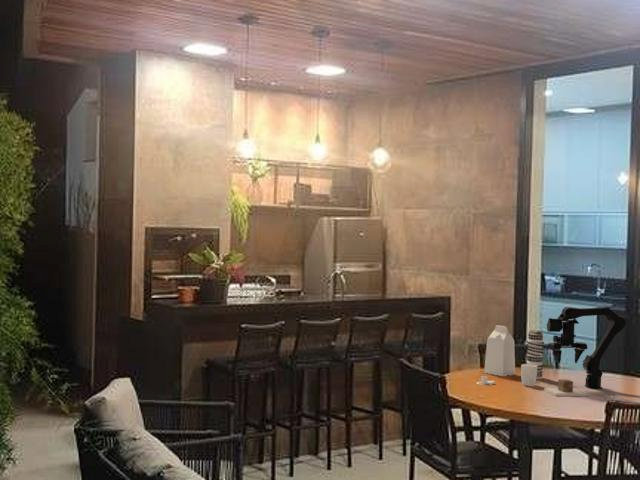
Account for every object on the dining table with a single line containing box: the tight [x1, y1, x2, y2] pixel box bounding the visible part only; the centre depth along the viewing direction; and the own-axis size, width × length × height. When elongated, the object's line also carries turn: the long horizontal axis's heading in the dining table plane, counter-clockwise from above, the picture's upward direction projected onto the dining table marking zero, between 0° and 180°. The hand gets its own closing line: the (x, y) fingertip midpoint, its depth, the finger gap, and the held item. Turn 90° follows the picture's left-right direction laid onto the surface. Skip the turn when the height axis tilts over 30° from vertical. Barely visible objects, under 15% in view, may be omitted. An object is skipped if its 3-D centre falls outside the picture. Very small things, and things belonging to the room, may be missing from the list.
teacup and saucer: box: [476, 375, 496, 386], centre depth 398 cm, size 9×8×4 cm
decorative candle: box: [526, 329, 545, 380], centre depth 420 cm, size 9×9×25 cm
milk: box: [483, 324, 516, 377], centre depth 428 cm, size 12×12×26 cm
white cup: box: [520, 363, 537, 387], centre depth 398 cm, size 8×8×10 cm
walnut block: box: [557, 379, 574, 392], centre depth 380 cm, size 5×5×5 cm
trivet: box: [544, 387, 588, 397], centre depth 380 cm, size 16×12×1 cm
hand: (567, 363), depth 397 cm, fingers open, 9 cm apart
